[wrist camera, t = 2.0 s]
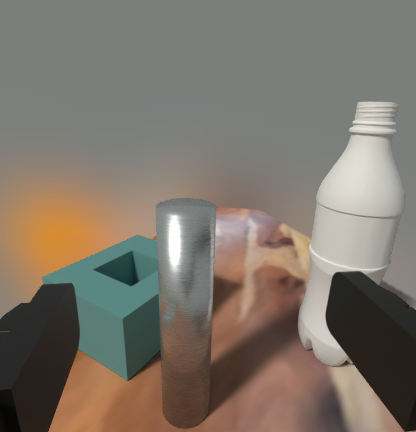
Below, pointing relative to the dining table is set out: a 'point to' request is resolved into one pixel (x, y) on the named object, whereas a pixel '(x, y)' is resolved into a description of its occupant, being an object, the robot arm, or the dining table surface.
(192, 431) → the dining table surface
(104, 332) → the well block
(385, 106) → the water bottle
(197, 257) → the steel post
